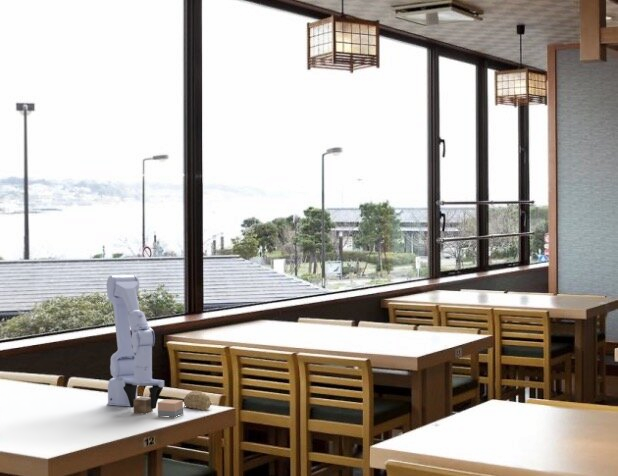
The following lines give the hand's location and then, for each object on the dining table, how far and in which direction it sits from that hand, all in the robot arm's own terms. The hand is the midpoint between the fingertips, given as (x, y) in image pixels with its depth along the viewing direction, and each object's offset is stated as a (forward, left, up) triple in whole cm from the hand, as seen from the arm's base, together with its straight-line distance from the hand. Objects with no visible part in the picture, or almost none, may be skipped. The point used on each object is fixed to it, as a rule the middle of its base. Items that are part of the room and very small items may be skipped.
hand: (143, 407), depth 312 cm
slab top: (+11, -2, +1) cm, 11 cm away
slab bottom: (+11, -2, -2) cm, 11 cm away
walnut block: (0, 0, -2) cm, 2 cm away
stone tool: (+14, +13, -2) cm, 19 cm away
